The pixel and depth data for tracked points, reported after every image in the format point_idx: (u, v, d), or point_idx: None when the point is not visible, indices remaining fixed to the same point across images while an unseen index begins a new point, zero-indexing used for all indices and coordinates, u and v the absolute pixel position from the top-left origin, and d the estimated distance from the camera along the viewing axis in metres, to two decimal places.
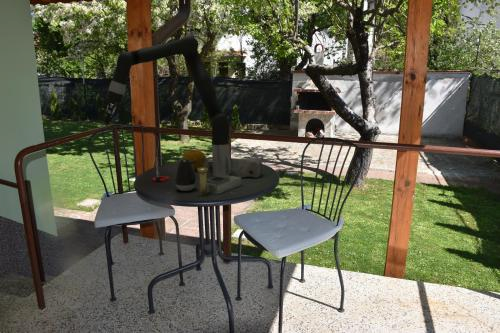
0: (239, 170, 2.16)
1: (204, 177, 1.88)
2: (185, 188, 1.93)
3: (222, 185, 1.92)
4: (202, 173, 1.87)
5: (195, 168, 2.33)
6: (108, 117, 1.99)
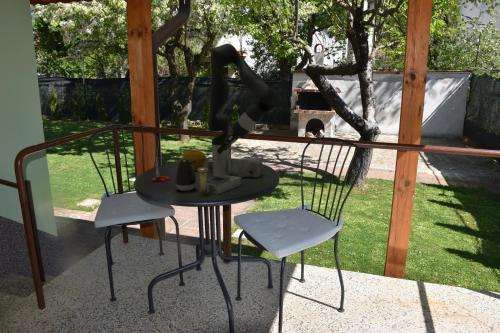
0: (239, 170, 2.16)
1: (204, 177, 1.88)
2: (185, 188, 1.93)
3: (222, 185, 1.92)
4: (202, 173, 1.87)
5: (195, 168, 2.33)
6: None
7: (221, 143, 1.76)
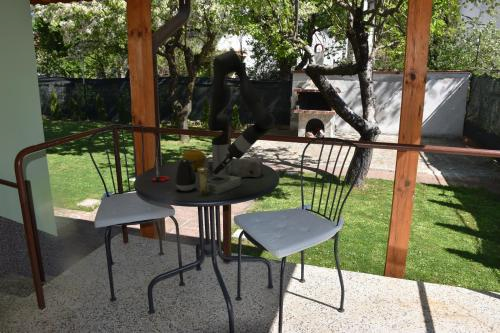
0: (239, 170, 2.17)
1: (204, 177, 1.88)
2: (185, 188, 1.93)
3: (222, 185, 1.92)
4: (202, 173, 1.87)
5: (195, 168, 2.33)
6: None
7: (218, 165, 1.80)
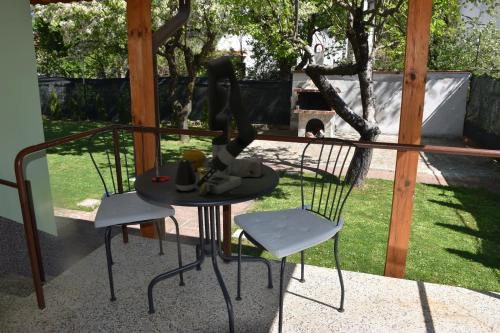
0: (239, 170, 2.17)
1: (204, 177, 1.88)
2: (185, 188, 1.93)
3: (222, 185, 1.92)
4: (201, 173, 1.87)
5: (195, 168, 2.33)
6: None
7: None
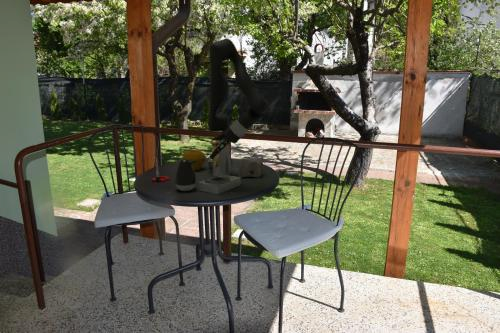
0: (240, 170, 2.17)
1: (217, 149, 1.93)
2: (185, 188, 1.93)
3: (222, 185, 1.92)
4: (214, 145, 1.92)
5: (195, 168, 2.33)
6: None
7: None
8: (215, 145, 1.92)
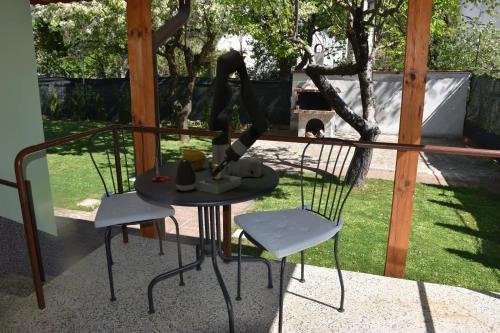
0: (240, 170, 2.17)
1: None
2: (185, 188, 1.93)
3: (222, 185, 1.92)
4: None
5: (195, 168, 2.33)
6: None
7: (216, 168, 1.90)
8: None
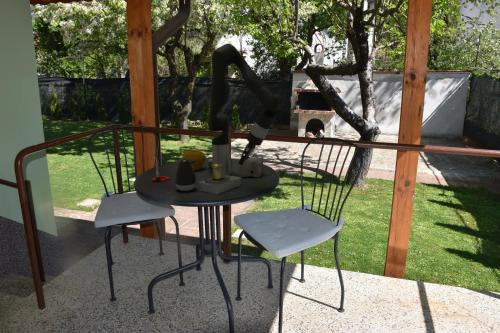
0: (240, 170, 2.17)
1: (218, 172, 1.95)
2: (185, 188, 1.93)
3: (222, 185, 1.92)
4: (216, 169, 1.95)
5: (195, 168, 2.33)
6: None
7: None
8: (217, 169, 1.95)
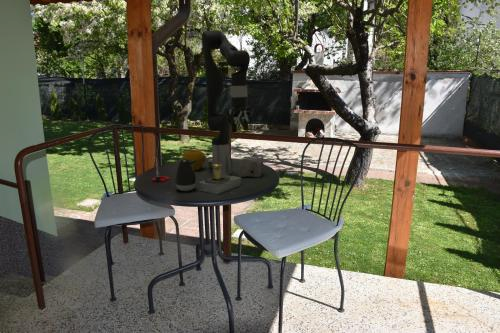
0: (240, 169, 2.17)
1: (218, 172, 1.95)
2: (185, 188, 1.93)
3: (222, 185, 1.92)
4: (216, 169, 1.95)
5: (195, 168, 2.33)
6: None
7: None
8: (217, 169, 1.95)
